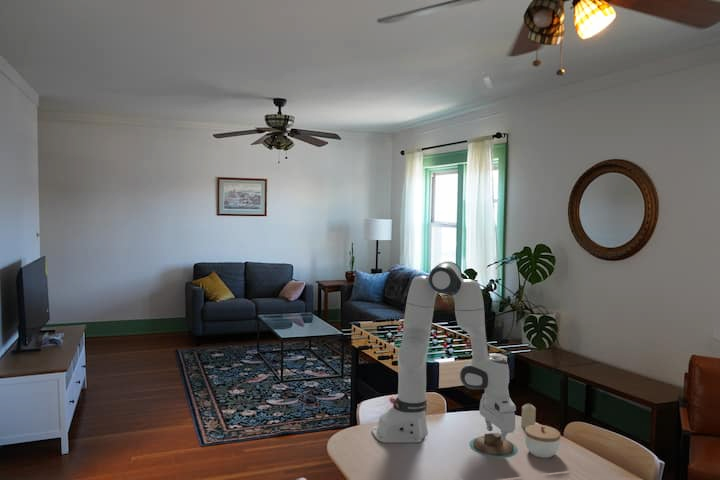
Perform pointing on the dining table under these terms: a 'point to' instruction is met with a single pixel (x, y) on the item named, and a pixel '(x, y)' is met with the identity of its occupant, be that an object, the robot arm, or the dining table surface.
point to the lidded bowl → (542, 440)
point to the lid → (493, 445)
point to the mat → (493, 455)
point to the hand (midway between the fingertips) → (495, 435)
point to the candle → (528, 415)
